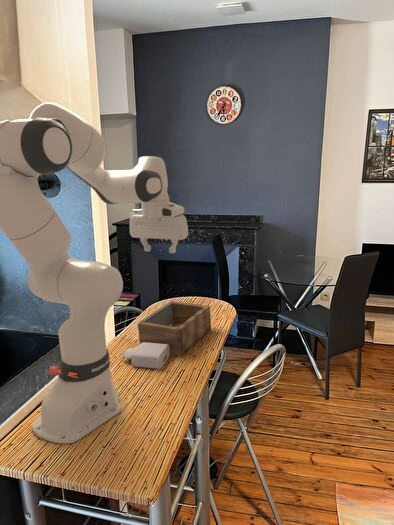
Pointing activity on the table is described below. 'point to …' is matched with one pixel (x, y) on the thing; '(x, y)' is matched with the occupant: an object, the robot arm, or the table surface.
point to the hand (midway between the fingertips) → (160, 251)
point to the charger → (148, 355)
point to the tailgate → (161, 316)
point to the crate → (179, 328)
